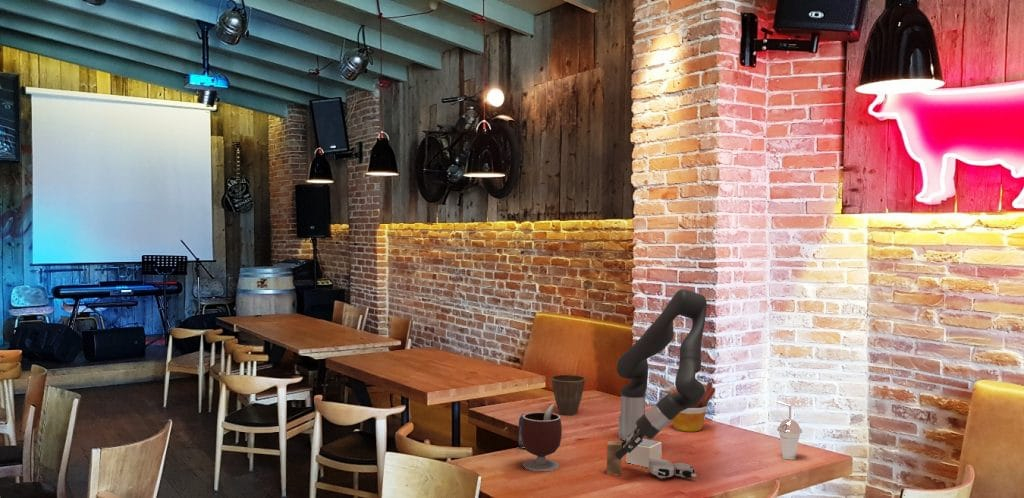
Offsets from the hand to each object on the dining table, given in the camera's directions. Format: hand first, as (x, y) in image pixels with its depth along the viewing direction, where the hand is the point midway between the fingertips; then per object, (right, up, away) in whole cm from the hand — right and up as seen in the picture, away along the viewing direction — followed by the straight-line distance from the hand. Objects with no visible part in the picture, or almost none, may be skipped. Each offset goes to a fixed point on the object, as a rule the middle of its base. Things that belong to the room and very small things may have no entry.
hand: (617, 453), depth 245 cm
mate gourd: (-25, -6, +7) cm, 27 cm away
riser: (+11, -7, +12) cm, 17 cm away
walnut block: (-1, -7, 0) cm, 7 cm away
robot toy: (+17, -7, -2) cm, 19 cm away
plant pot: (-10, -6, +84) cm, 85 cm away
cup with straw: (+65, -7, +21) cm, 68 cm away
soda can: (-29, -6, +29) cm, 42 cm away
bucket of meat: (+38, -7, +60) cm, 71 cm away
